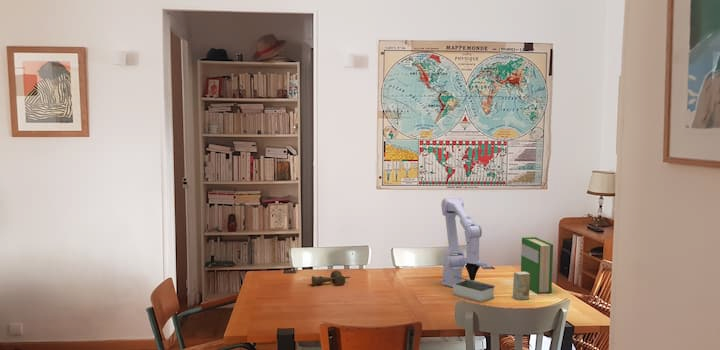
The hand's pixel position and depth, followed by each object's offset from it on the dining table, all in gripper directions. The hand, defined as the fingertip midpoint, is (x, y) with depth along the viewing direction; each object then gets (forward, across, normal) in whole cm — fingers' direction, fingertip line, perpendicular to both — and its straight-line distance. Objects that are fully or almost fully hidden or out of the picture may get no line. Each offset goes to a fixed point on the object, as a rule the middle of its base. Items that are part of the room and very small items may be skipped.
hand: (472, 279), depth 254 cm
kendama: (+8, +61, +36) cm, 71 cm away
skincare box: (+8, -17, -15) cm, 24 cm away
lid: (+1, 0, -1) cm, 2 cm away
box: (+8, 0, -1) cm, 8 cm away
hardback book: (+8, -13, -34) cm, 38 cm away
